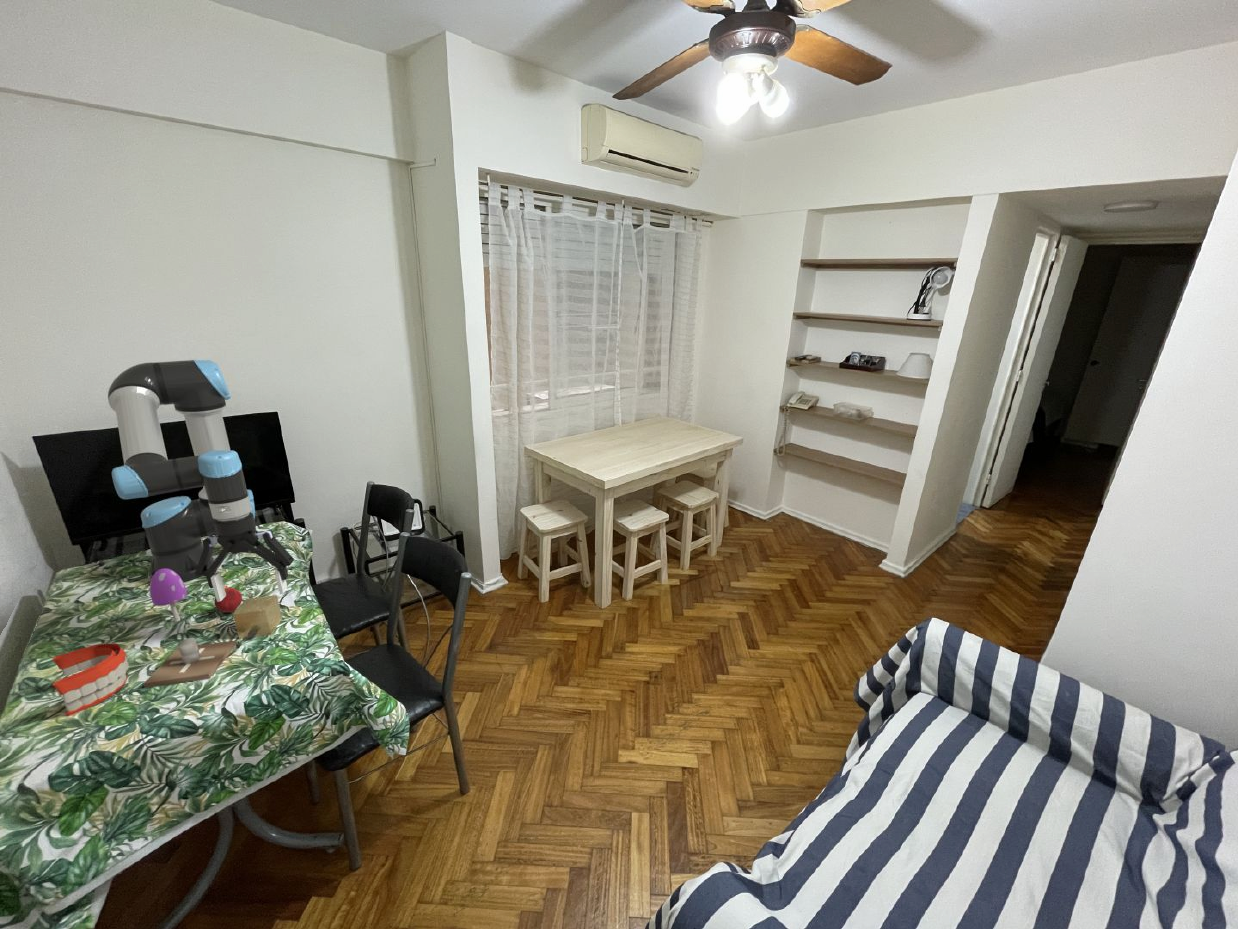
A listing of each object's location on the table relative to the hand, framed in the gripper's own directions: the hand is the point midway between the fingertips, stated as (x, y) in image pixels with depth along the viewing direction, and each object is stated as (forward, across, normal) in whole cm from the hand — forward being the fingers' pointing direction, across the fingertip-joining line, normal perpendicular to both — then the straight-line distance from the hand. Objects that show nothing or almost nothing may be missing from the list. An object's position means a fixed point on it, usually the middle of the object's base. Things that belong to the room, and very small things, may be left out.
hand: (253, 595), depth 122 cm
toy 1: (+10, -24, -16) cm, 31 cm away
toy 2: (+10, -23, +9) cm, 27 cm away
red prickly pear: (+10, -11, +10) cm, 18 cm away
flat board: (+10, -9, -12) cm, 18 cm away
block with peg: (+10, 0, 0) cm, 10 cm away
